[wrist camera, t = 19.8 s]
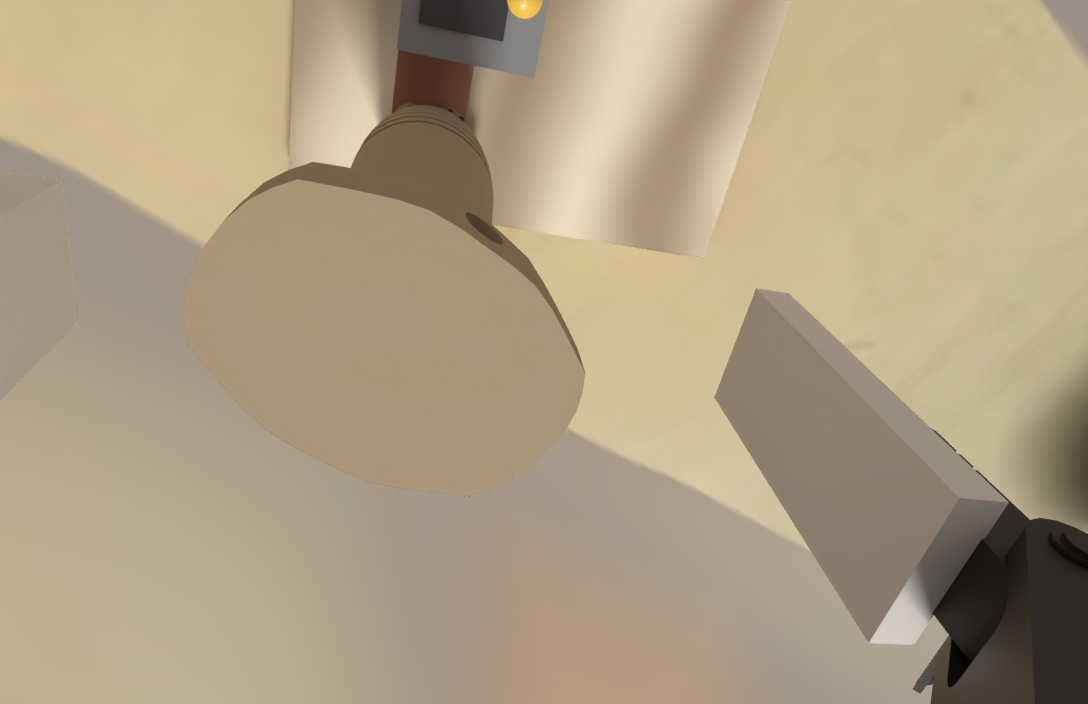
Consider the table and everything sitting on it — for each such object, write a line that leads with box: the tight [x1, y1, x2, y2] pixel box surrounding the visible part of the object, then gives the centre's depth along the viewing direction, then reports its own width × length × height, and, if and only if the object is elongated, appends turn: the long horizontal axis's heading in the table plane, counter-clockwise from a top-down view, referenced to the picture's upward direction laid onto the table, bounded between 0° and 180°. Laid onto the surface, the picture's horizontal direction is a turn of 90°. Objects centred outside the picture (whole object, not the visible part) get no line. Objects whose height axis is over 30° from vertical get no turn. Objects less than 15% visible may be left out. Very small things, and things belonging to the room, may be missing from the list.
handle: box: [184, 102, 585, 497], centre depth 18 cm, size 5×6×15 cm
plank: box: [289, 0, 792, 258], centre depth 24 cm, size 16×10×2 cm, turn 78°
